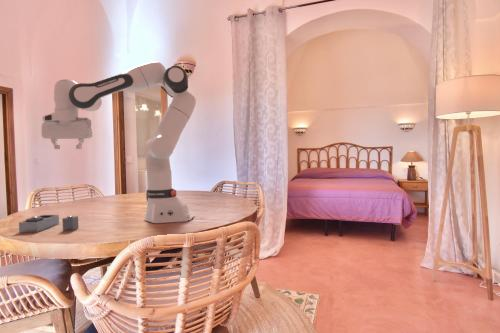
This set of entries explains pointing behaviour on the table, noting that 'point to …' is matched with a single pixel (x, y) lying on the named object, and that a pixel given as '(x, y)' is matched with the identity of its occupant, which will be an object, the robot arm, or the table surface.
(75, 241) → the table surface
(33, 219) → the nut
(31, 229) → the grey holder block
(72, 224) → the dark grey block
